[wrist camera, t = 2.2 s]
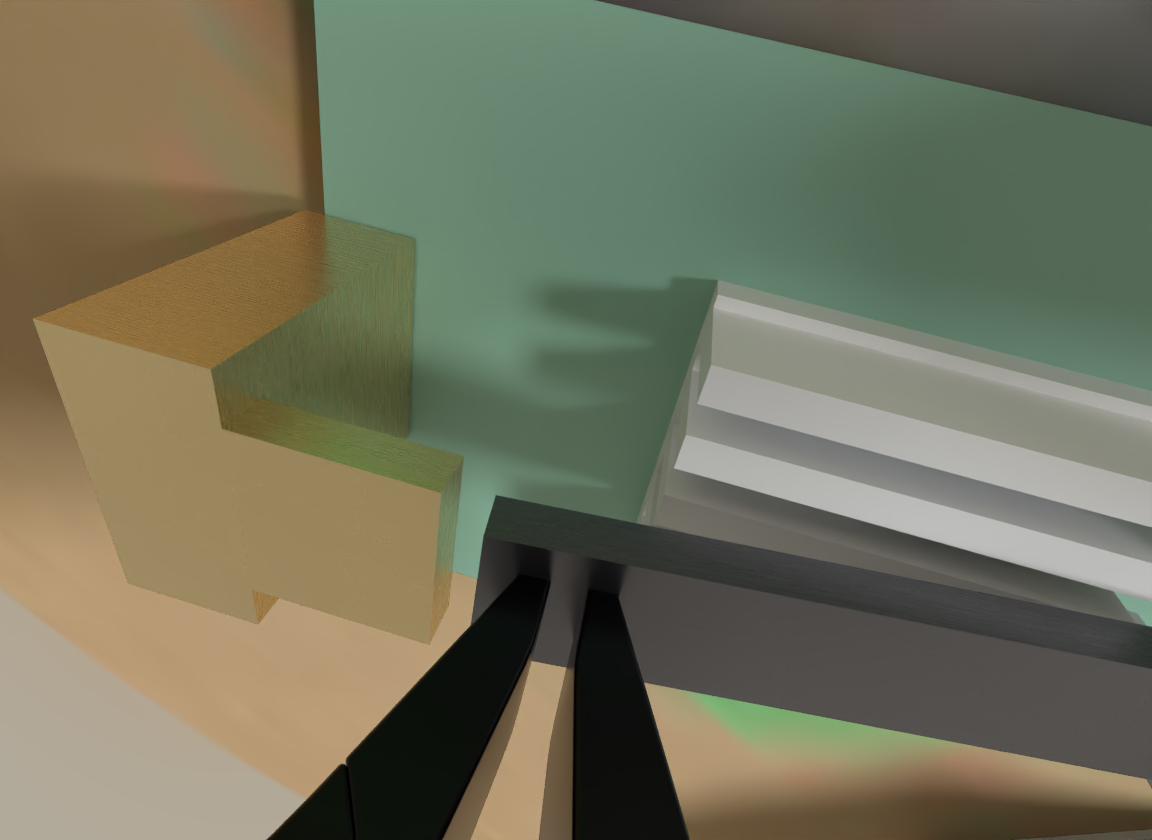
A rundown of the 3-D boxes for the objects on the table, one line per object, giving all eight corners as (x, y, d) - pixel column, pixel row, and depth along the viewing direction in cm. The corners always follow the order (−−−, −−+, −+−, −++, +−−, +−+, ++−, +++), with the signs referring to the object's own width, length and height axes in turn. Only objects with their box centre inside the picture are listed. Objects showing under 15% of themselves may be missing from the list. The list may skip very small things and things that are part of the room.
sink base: (1637, 237, 9) (2753, 475, 4) (1052, 722, 17) (1190, 1005, 12) (343, -56, 10) (0, -144, 6) (358, 515, 18) (223, 691, 13)
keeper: (558, 275, 12) (445, 436, 7) (524, 468, 15) (426, 677, 10) (304, 209, 12) (32, 318, 7) (319, 410, 15) (127, 583, 10)
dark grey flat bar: (1420, 655, 9) (1522, 737, 8) (1251, 757, 10) (1316, 834, 9) (501, 469, 8) (482, 530, 7) (480, 606, 10) (462, 671, 9)
